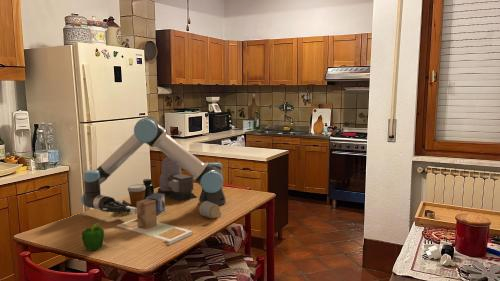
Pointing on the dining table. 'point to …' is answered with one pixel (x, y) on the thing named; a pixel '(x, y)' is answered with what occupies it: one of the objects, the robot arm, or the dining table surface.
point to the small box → (158, 202)
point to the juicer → (175, 181)
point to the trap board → (159, 231)
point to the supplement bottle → (148, 187)
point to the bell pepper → (93, 237)
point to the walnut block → (146, 214)
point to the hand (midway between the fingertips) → (136, 211)
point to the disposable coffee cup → (136, 193)
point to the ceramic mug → (209, 209)
